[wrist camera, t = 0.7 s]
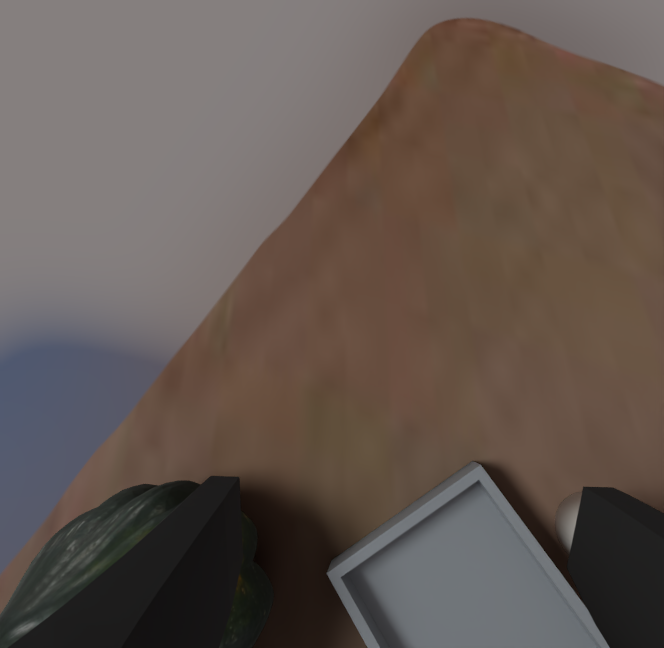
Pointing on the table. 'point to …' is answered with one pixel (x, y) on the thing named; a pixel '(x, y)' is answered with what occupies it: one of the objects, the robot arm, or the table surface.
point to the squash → (109, 546)
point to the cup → (567, 520)
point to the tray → (459, 577)
